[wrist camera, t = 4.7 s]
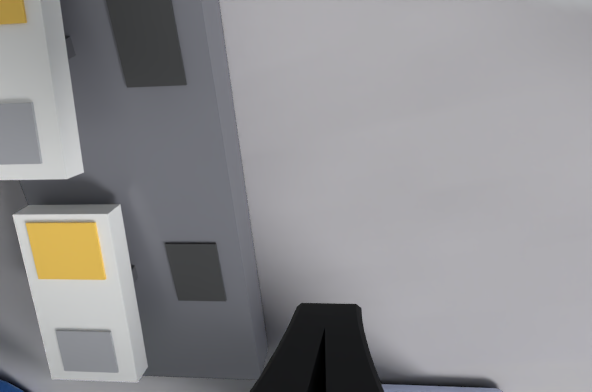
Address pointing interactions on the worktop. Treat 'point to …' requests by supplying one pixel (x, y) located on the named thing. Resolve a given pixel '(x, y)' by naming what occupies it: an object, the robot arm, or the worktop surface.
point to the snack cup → (8, 387)
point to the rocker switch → (83, 291)
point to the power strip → (167, 177)
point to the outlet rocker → (36, 94)
